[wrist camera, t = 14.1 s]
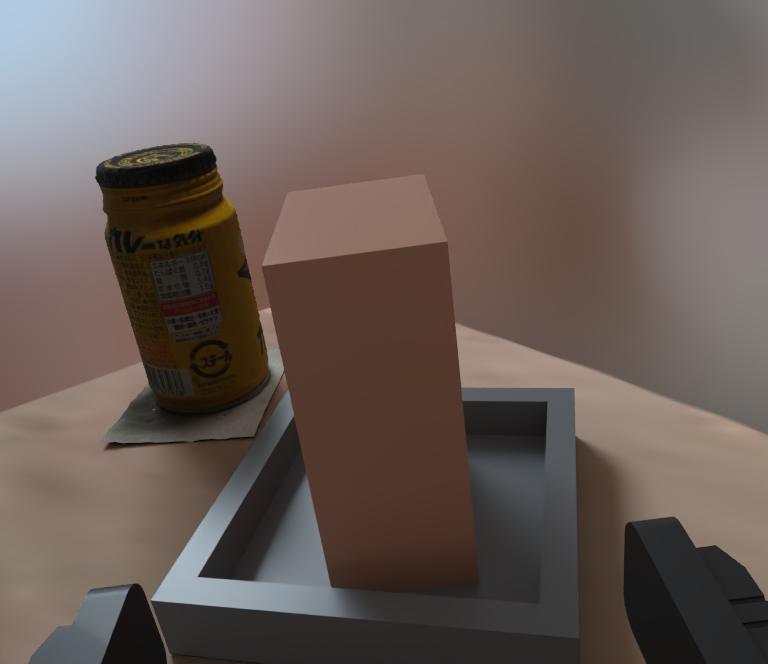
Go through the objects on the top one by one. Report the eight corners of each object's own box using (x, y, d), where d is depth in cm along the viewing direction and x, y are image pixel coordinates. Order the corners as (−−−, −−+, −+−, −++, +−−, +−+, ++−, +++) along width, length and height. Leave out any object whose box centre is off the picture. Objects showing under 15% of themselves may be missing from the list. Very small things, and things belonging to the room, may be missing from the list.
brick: (333, 600, 22) (261, 266, 17) (339, 464, 28) (288, 192, 24) (479, 583, 22) (447, 241, 17) (452, 450, 28) (423, 173, 23)
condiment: (293, 351, 40) (247, 130, 34) (254, 439, 32) (188, 174, 27) (168, 360, 41) (106, 147, 35) (102, 448, 33) (10, 193, 28)
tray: (170, 653, 22) (151, 600, 21) (298, 429, 32) (289, 387, 31) (580, 698, 19) (579, 638, 18) (575, 434, 29) (574, 388, 28)
